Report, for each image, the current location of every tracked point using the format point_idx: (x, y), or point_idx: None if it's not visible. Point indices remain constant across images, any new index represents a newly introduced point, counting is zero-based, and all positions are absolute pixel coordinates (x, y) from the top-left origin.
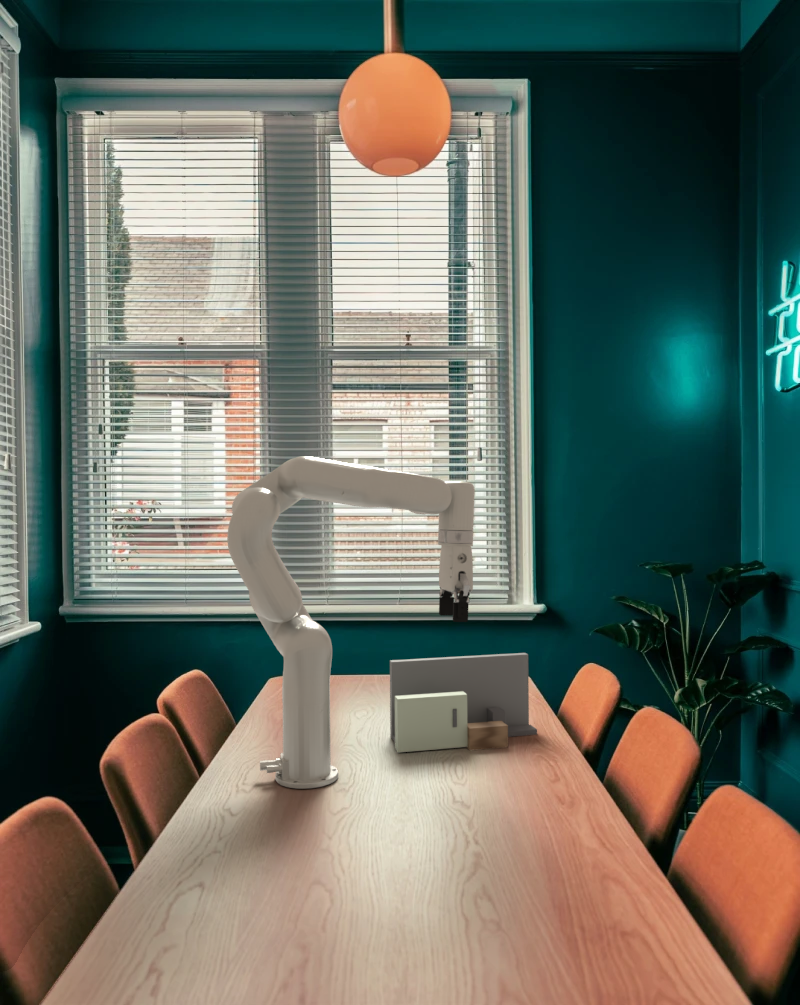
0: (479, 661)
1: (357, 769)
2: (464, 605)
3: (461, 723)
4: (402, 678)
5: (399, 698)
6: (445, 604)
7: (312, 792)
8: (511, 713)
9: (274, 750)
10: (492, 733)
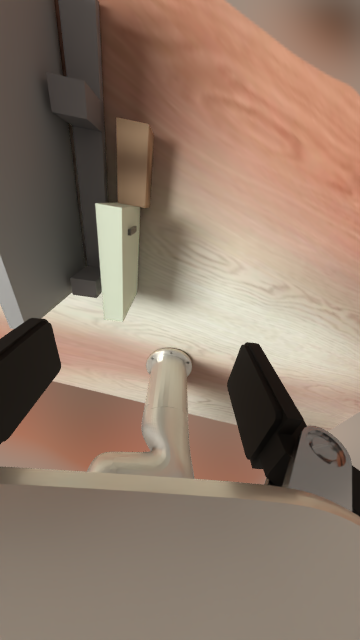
0: None
1: (164, 332)
2: (300, 426)
3: (133, 217)
4: (41, 298)
5: (119, 318)
6: (24, 390)
7: (196, 366)
8: (40, 29)
9: (99, 369)
10: (148, 163)
